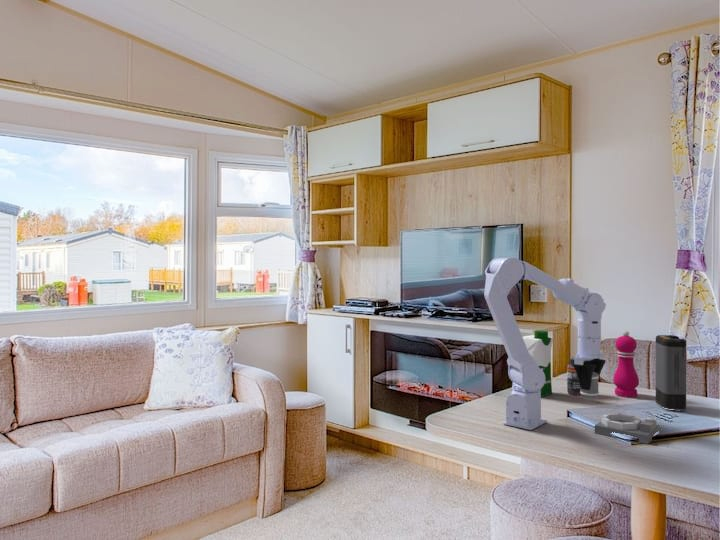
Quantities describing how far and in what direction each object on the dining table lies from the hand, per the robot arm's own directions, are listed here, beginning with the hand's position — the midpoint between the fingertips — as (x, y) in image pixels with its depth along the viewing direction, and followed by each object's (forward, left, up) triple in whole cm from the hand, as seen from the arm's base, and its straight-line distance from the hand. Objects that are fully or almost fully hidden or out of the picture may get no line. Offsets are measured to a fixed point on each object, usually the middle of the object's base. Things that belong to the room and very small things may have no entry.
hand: (589, 387), depth 148 cm
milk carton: (+16, +23, -9) cm, 29 cm away
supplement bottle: (+24, +13, -9) cm, 29 cm away
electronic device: (+26, -13, -9) cm, 30 cm away
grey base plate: (-6, -12, -8) cm, 15 cm away
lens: (0, 0, -2) cm, 2 cm away
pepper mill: (+32, +1, -9) cm, 33 cm away
